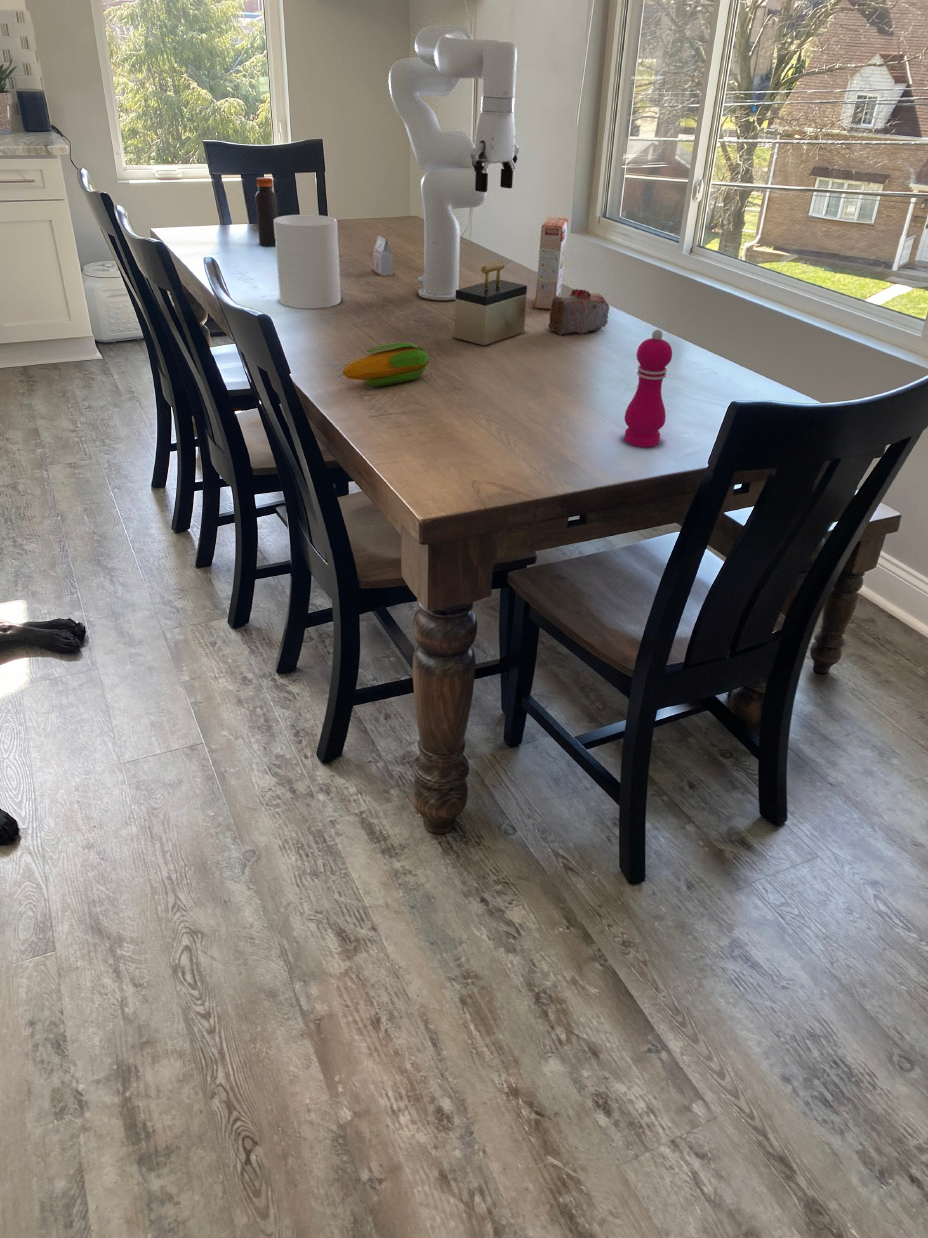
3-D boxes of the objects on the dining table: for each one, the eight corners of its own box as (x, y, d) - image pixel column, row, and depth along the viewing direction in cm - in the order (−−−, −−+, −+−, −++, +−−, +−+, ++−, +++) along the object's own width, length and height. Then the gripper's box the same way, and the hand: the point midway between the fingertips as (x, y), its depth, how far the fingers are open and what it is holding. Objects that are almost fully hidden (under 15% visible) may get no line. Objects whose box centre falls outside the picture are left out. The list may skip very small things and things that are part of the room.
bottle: (278, 246, 295) (272, 180, 284) (257, 246, 294) (251, 179, 284) (282, 242, 300) (276, 177, 289) (261, 242, 300) (256, 176, 289)
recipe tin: (456, 265, 203) (487, 272, 199) (498, 255, 214) (528, 261, 209) (454, 337, 212) (484, 345, 208) (495, 324, 223) (524, 331, 218)
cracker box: (556, 310, 237) (563, 226, 226) (533, 308, 238) (540, 224, 226) (562, 298, 249) (569, 217, 237) (540, 296, 249) (546, 215, 238)
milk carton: (385, 269, 271) (384, 234, 265) (392, 274, 266) (392, 239, 260) (373, 270, 270) (372, 235, 264) (381, 275, 265) (380, 239, 259)
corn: (436, 341, 183) (351, 356, 173) (437, 378, 187) (353, 395, 177) (417, 335, 188) (333, 348, 178) (418, 371, 192) (336, 386, 182)
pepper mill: (632, 430, 166) (647, 321, 155) (668, 439, 163) (686, 329, 152) (614, 442, 161) (629, 330, 150) (651, 452, 158) (669, 338, 147)
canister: (352, 301, 238) (350, 220, 227) (305, 311, 228) (300, 227, 217) (315, 290, 247) (310, 212, 236) (267, 299, 237) (260, 218, 226)
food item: (590, 323, 227) (595, 283, 222) (609, 331, 222) (614, 290, 216) (545, 328, 222) (549, 287, 216) (563, 337, 216) (566, 295, 211)
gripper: (507, 103, 209) (503, 184, 218) (460, 106, 198) (458, 190, 207) (533, 106, 205) (527, 187, 215) (487, 108, 194) (483, 194, 203)
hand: (493, 189), depth 211 cm, fingers open, 9 cm apart
